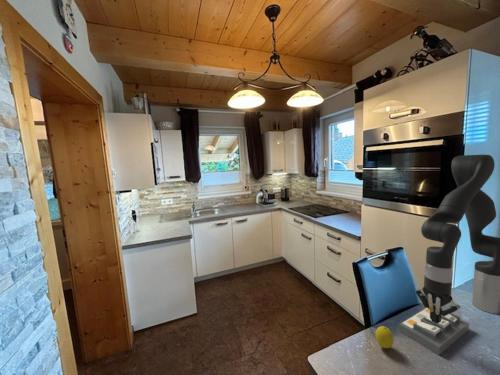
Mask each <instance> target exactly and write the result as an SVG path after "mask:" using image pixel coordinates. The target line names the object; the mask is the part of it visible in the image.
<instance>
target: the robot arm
mask: <svg viewBox="0 0 500 375" xmlns="http://www.w3.org/2000/svg"><path fill="white" fill-rule="evenodd" d="M450 164H451V165H450V166H451V173H452V176H453V178H454V181H455V184H456V186H457V187H456V188H455V189H453V190H452V191H450V192H449V193H447V194H446V195H445V196H444V198H443V200H442V201H441V203H440V205H439V206H438V208H437V210H436V211H435V212H434V213H432V215H430V216H429V217H428V218H427V219H426V220H425V221H424V222H423V223H422V225H421V228H420V232H421V235H422V236H423V238H425V239H427V240H429V241H434V242H439V243H443V244H442V246H429V247H426V256H425V265H424V271H423V272H424V273H423V274H424V276H423V278H424V279H423V287H422V289H420V288H419V289H417V290H416V291H415V294H416V295H417V296H418V298H419V300H420V301H421V303H422V305H423V306H424V308H428V309H429V310H430V319H431V320H432V322H434V323H436V324H437V323H439V322H441V315H443V316H446V315H448V314H450V313H454V312H456V311H458V310H460V309H461V305H459V304H456V303H455V301H453V300H454V299H453V297H452V286H453V285H452V284H453V270H452V269H453V256H454V253H455V251H456V249H457V246H458V244H459V242H460V241H461V238H462V230H461V229H460V227H459V226H458V225H456V224H455V223H459V222H461V220H462V219H463V217H464V216H465V219H466V221H467V225H468V226H467V227H468V232H469V241H470V247H471V250H472V251H473V253H475V254H478V255H481V256H484V257H488V258H493V260H488V261H486V260H478V261H476V262H474V271H473V285H472V298H471V299H472V300H471V302H472V305H473V306H474V307H475V308H477V309H479V310H481V311H484V312H487V313H490V314H495V315H498V314H500V237H497V236H492V235H487V234H484V233H483V231H484V229H485V228H486V227H488V226H489V225H491V223H492V222H494V221H495V219H496V217H497V211H496V206H495V202H494V200H493V199H492V198H491V197H490V195H488V194H487V193H486V192H485V191H483V190H482V188H483V186H484V185H485V184H486V183H487V181H488V180H489V179H490V178H491V176H492V175H493V172H494V170H495V159H494V158H493V156H492V155H490V154H464V155H457V156H455V157H454V158H453V159H452V160H451V163H450ZM453 223H454V224H453ZM448 304H449V305H448ZM446 305H448V308H446V309H444V306H446ZM443 309H444V310H443Z"/></svg>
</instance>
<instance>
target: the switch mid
mask: <svg viewBox="0 0 500 375" xmlns="http://www.w3.org/2000/svg"><path fill="white" fill-rule="evenodd" d="M427 319H429V320H431V319H430V316H429V317H428V318H427ZM431 321H432V320H431ZM437 324H439V325H441V326H443V327H446V326H448V325H449V322H448V321H445V320H442V319H441V322H439V323H437Z"/></svg>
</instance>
